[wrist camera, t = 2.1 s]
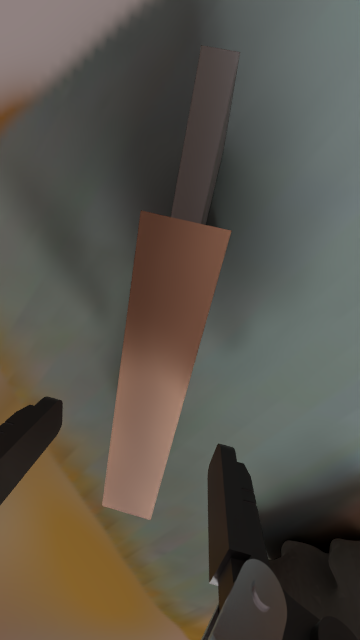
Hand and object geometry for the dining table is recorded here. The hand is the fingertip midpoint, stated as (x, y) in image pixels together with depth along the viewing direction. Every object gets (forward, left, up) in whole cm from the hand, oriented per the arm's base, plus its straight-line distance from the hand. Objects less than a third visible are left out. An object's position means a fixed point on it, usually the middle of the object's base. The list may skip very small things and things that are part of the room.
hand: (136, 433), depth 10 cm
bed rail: (0, -4, -5) cm, 6 cm away
